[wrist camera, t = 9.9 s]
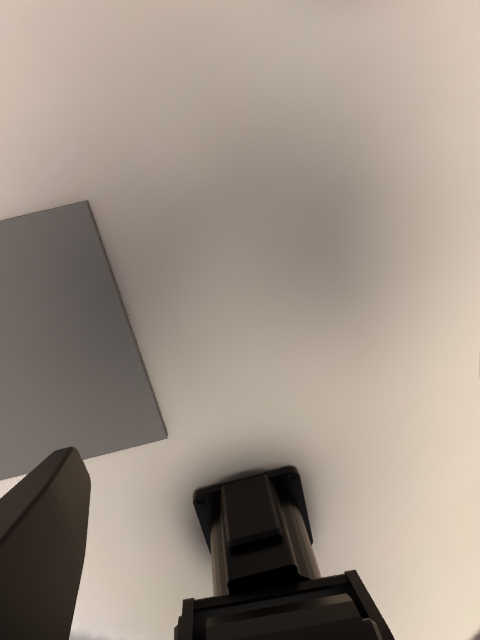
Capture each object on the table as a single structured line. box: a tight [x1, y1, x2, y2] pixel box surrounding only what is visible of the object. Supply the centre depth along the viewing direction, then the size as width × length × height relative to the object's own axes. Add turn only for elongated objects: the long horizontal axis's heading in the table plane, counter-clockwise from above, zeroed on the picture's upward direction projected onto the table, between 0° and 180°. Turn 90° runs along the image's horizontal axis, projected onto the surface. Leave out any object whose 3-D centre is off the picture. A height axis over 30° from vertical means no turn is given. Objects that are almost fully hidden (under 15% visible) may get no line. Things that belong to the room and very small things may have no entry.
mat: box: [0, 201, 168, 480], centre depth 21 cm, size 13×13×1 cm
